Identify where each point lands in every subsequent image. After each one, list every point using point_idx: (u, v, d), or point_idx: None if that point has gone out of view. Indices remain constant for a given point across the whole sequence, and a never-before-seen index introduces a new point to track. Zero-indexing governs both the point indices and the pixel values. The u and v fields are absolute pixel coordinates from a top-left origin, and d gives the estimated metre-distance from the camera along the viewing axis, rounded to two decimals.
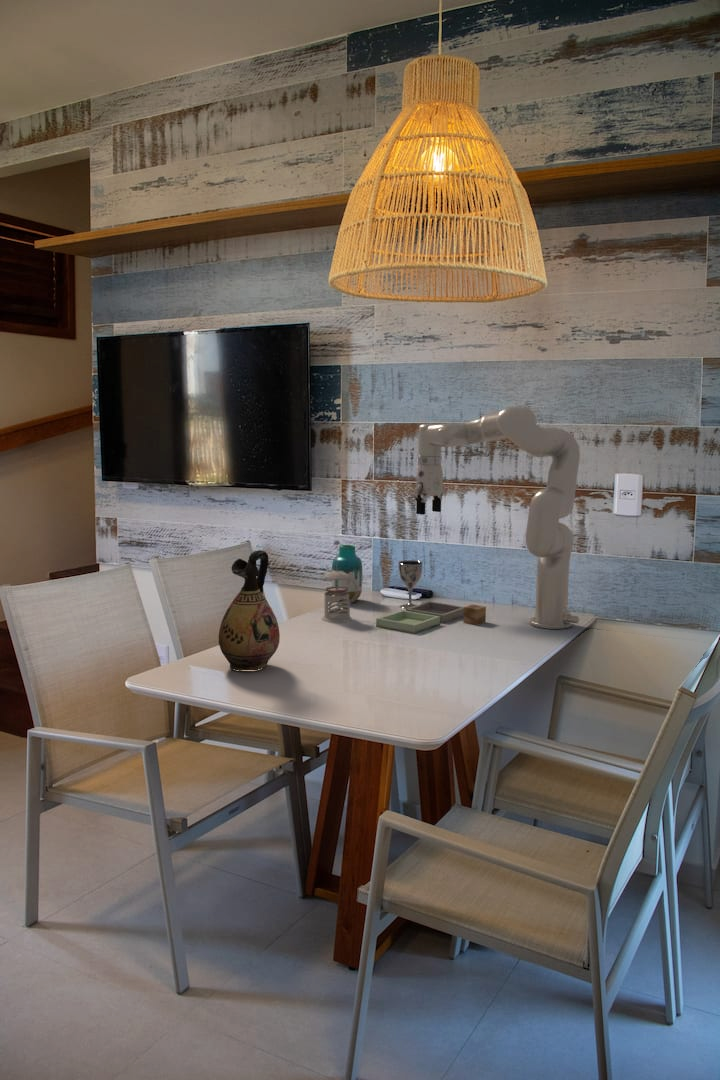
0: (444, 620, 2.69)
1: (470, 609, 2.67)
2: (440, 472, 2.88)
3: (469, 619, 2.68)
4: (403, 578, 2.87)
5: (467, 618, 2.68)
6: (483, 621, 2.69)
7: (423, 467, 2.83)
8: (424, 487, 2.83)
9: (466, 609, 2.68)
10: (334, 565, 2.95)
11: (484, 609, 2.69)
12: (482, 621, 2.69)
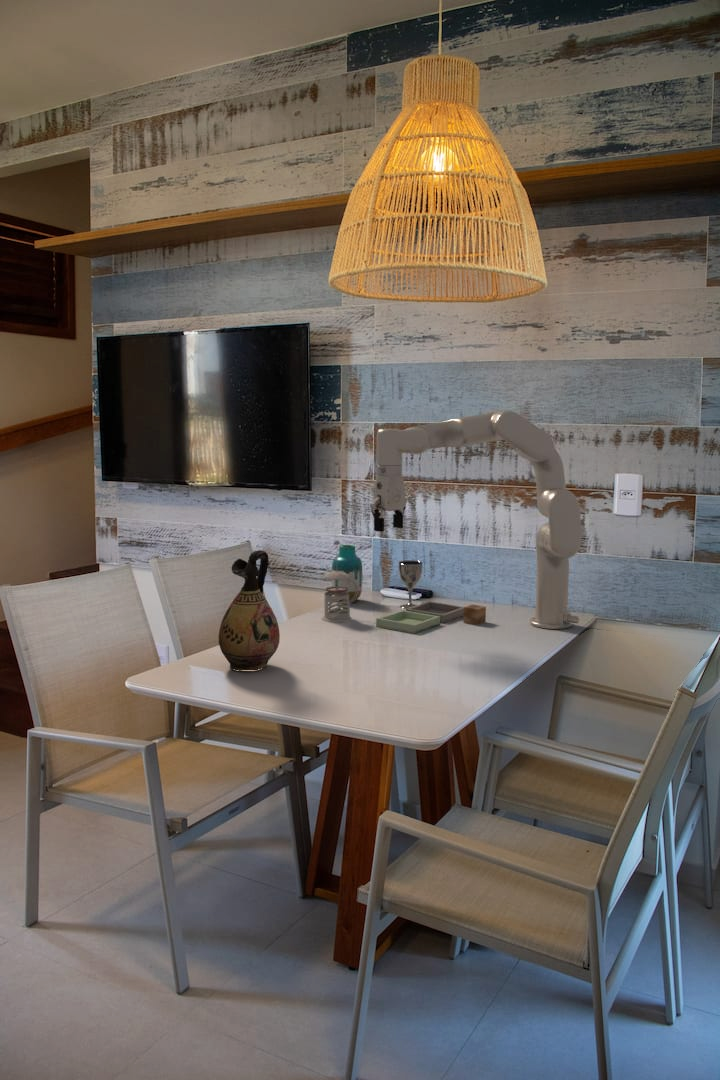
0: (444, 620, 2.69)
1: (470, 609, 2.67)
2: (401, 483, 2.54)
3: (469, 619, 2.68)
4: (403, 578, 2.87)
5: (467, 618, 2.68)
6: (483, 621, 2.69)
7: (381, 478, 2.50)
8: (382, 501, 2.50)
9: (466, 609, 2.68)
10: (334, 565, 2.95)
11: (484, 609, 2.69)
12: (482, 621, 2.69)
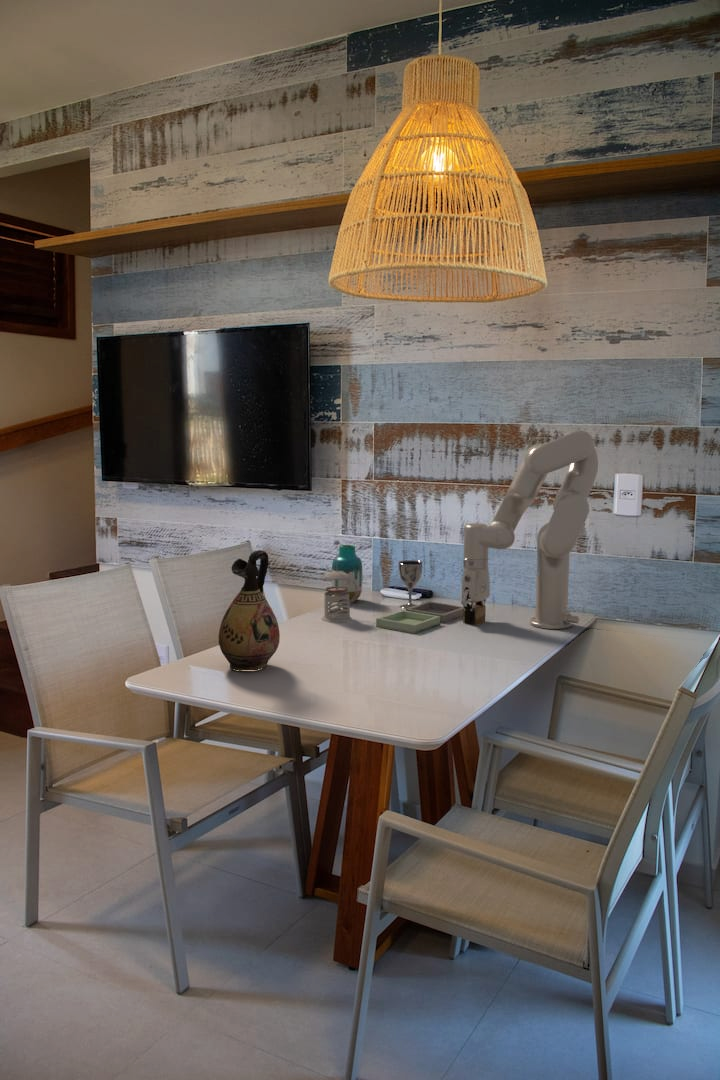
0: (444, 620, 2.69)
1: None
2: (487, 575, 2.68)
3: None
4: (403, 578, 2.87)
5: None
6: (482, 621, 2.69)
7: (469, 571, 2.64)
8: (470, 593, 2.64)
9: None
10: (334, 565, 2.95)
11: (484, 609, 2.69)
12: (482, 621, 2.69)
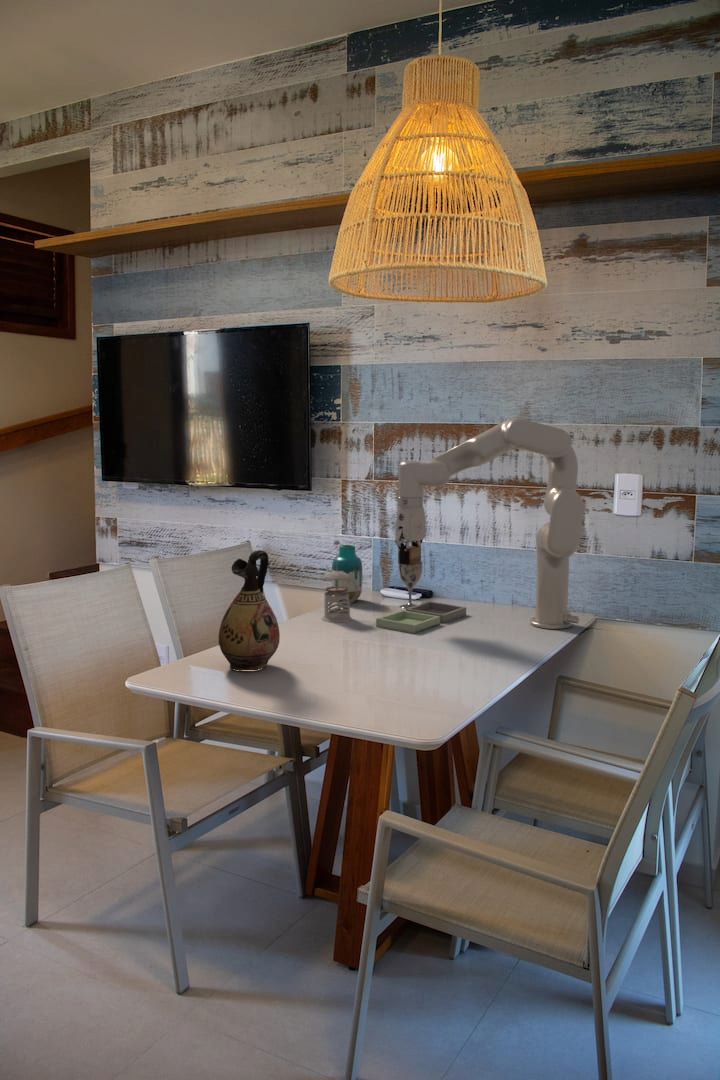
0: (444, 620, 2.69)
1: None
2: (422, 514, 2.61)
3: None
4: (403, 578, 2.87)
5: None
6: (418, 562, 2.62)
7: (403, 510, 2.56)
8: (404, 532, 2.56)
9: None
10: (334, 565, 2.95)
11: (419, 549, 2.62)
12: (417, 562, 2.62)
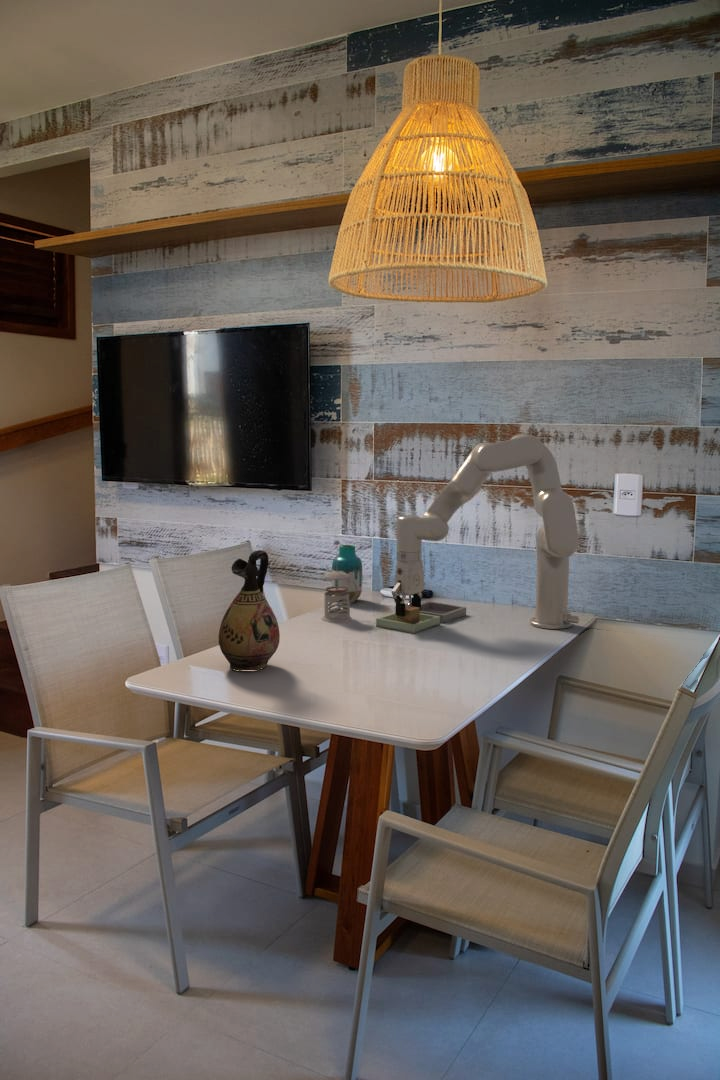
0: (444, 620, 2.69)
1: None
2: (421, 568, 2.63)
3: (402, 620, 2.63)
4: None
5: (400, 619, 2.64)
6: (416, 622, 2.65)
7: (402, 564, 2.59)
8: (403, 586, 2.59)
9: None
10: (334, 565, 2.95)
11: (418, 610, 2.65)
12: (415, 622, 2.64)
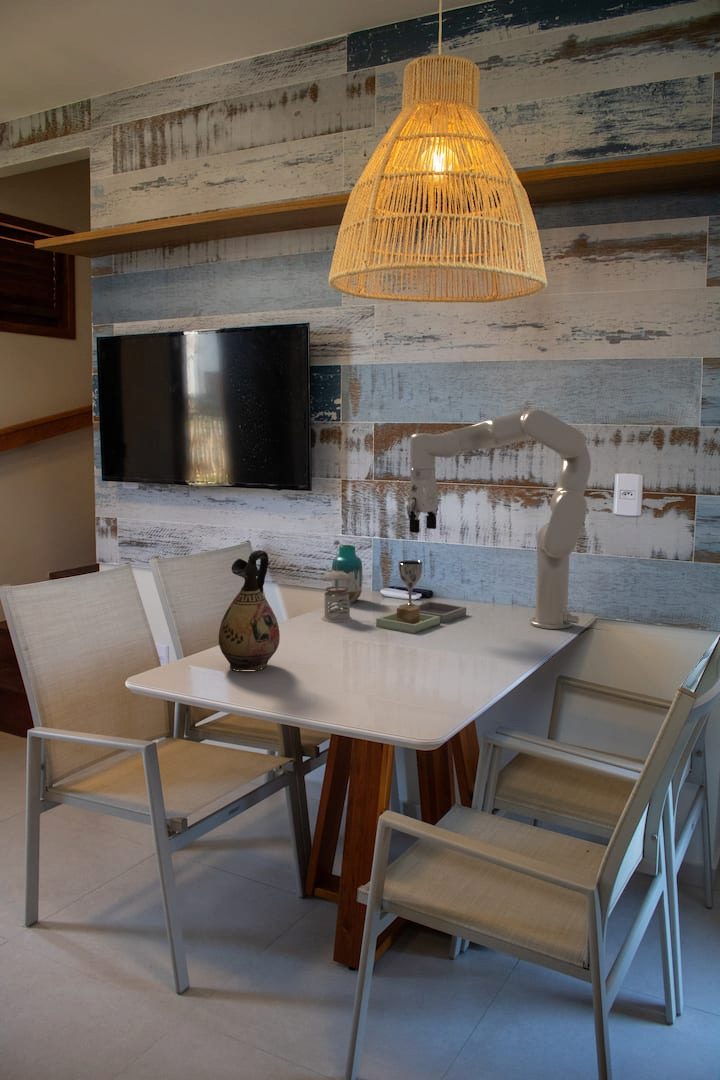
0: (444, 620, 2.69)
1: (403, 610, 2.63)
2: (435, 486, 2.64)
3: (402, 620, 2.63)
4: (403, 578, 2.87)
5: (400, 619, 2.64)
6: (416, 622, 2.65)
7: (416, 481, 2.60)
8: (418, 503, 2.59)
9: (399, 610, 2.64)
10: (334, 565, 2.95)
11: (418, 610, 2.65)
12: (415, 622, 2.64)
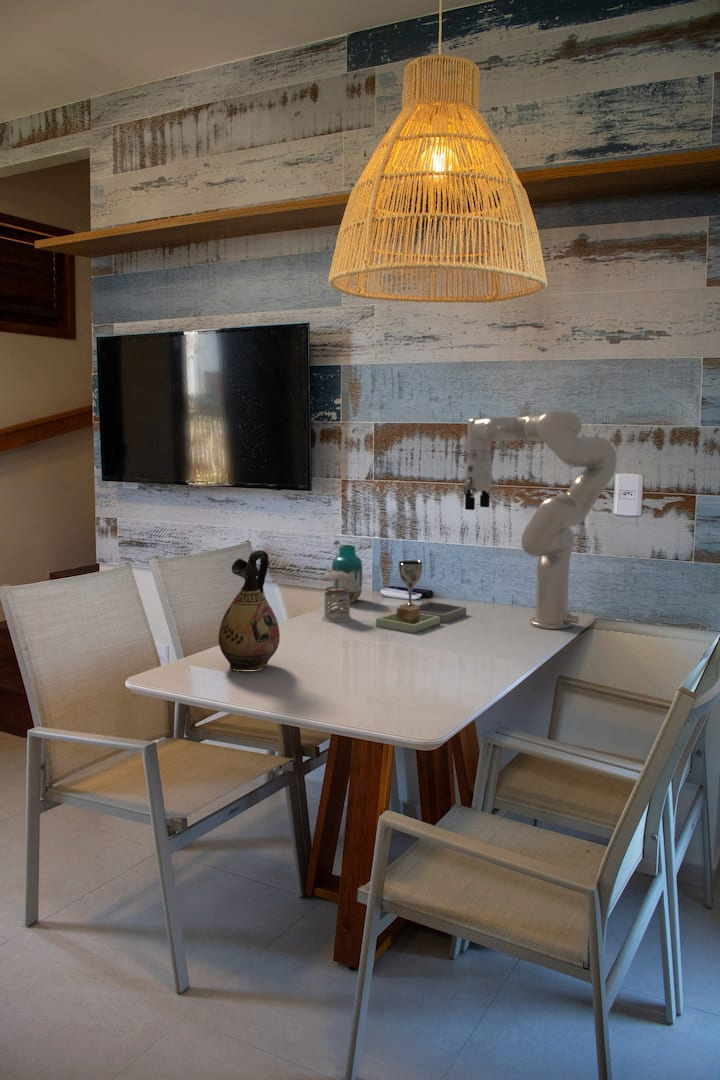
0: (444, 620, 2.69)
1: (403, 610, 2.63)
2: (489, 467, 2.84)
3: (402, 620, 2.63)
4: (403, 578, 2.87)
5: (400, 619, 2.64)
6: (416, 622, 2.65)
7: (473, 462, 2.79)
8: (474, 482, 2.79)
9: (399, 610, 2.64)
10: (334, 565, 2.95)
11: (418, 610, 2.65)
12: (415, 622, 2.64)
